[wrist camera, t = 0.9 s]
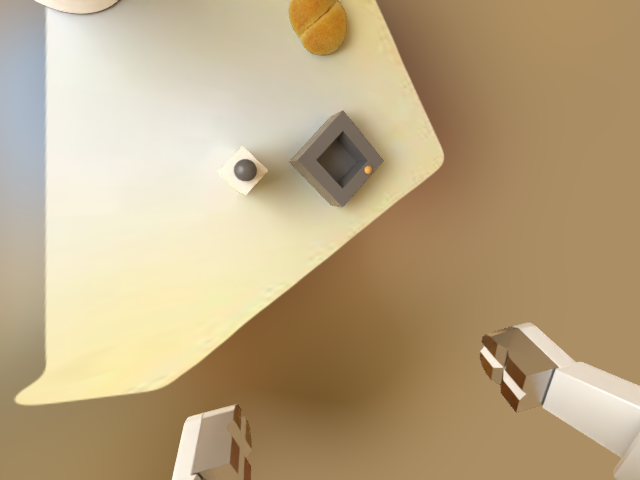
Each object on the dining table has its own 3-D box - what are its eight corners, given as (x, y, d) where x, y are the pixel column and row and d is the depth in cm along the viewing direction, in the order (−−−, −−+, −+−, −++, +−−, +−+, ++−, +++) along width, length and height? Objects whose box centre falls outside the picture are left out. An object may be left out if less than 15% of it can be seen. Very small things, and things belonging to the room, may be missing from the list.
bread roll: (314, 67, 46) (323, 58, 42) (277, 10, 43) (283, -6, 39) (353, 37, 47) (365, 24, 44) (319, -22, 44) (329, -40, 40)
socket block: (289, 161, 47) (298, 159, 42) (330, 117, 48) (343, 109, 43) (330, 204, 51) (343, 207, 46) (368, 162, 52) (384, 160, 47)
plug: (217, 173, 44) (219, 170, 32) (235, 153, 44) (244, 143, 32) (238, 191, 45) (247, 196, 33) (255, 172, 46) (271, 170, 34)
